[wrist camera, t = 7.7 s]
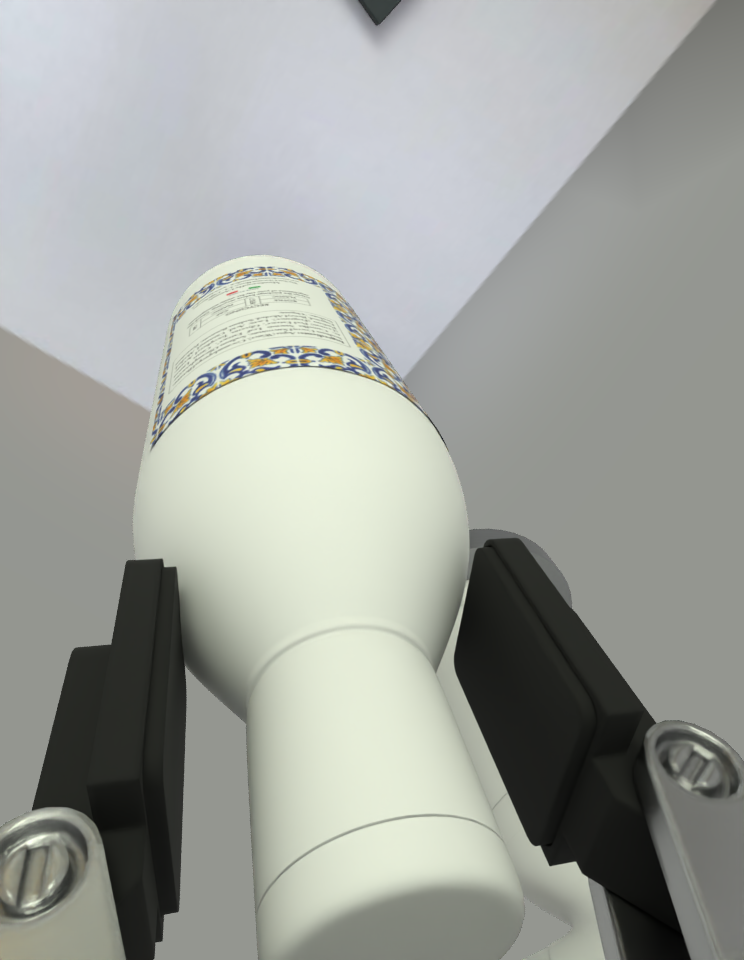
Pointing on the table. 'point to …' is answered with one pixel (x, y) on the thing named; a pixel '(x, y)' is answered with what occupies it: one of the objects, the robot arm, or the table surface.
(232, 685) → the bath foam
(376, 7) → the mat
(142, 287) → the table surface
